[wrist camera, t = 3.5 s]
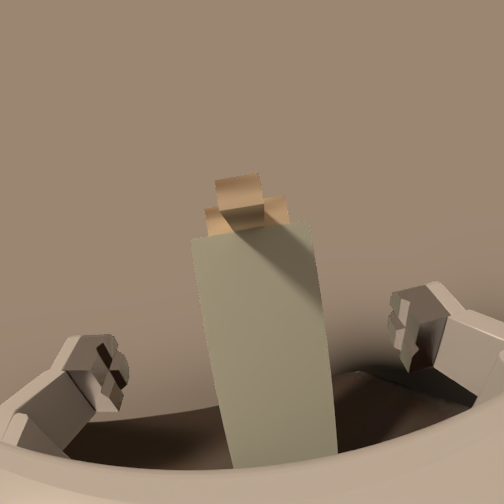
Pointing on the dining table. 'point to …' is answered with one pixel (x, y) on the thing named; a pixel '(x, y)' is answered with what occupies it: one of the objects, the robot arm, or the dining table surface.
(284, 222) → the wooden paddle
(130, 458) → the dining table surface
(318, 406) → the shelf block
